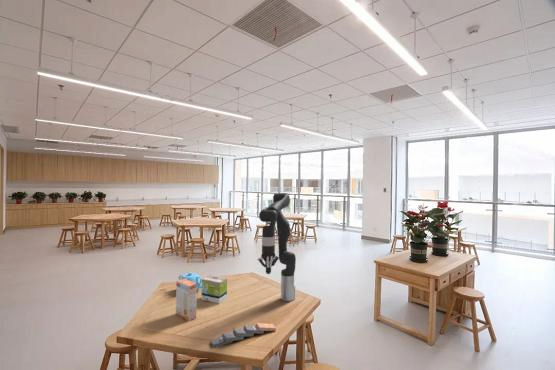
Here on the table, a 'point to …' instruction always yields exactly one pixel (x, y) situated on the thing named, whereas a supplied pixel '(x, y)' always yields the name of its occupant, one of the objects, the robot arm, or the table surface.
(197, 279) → the decorative pot
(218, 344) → the domino
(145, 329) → the table surface
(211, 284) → the tea box
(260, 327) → the domino
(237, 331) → the domino
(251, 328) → the domino
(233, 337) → the domino
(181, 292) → the cracker box
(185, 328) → the table surface
